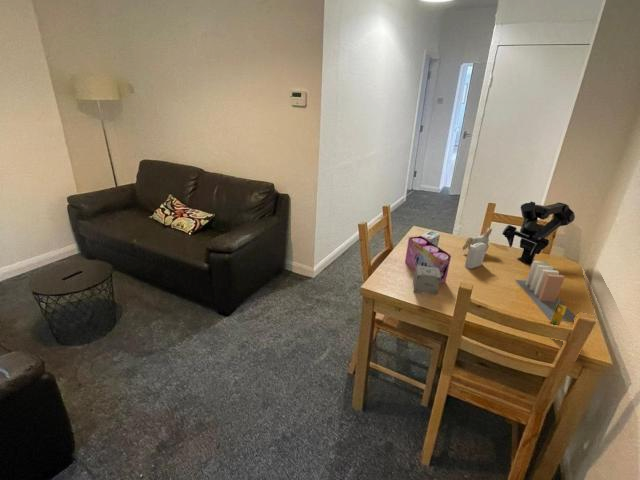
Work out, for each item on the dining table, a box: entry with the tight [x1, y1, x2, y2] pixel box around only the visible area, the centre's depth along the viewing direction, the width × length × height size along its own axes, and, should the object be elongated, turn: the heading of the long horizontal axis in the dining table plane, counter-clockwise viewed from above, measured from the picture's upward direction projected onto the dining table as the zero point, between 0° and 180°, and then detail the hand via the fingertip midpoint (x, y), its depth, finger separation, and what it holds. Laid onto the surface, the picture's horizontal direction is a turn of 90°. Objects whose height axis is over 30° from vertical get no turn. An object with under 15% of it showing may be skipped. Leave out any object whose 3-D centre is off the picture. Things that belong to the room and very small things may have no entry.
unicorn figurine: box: [462, 224, 493, 254], centre depth 181 cm, size 7×20×13 cm, turn 122°
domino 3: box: [534, 269, 560, 296], centre depth 143 cm, size 2×6×12 cm, turn 85°
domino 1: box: [525, 260, 550, 286], centre depth 151 cm, size 2×6×12 cm, turn 85°
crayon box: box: [548, 299, 568, 327], centre depth 122 cm, size 7×3×12 cm, turn 138°
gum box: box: [404, 235, 452, 284], centre depth 158 cm, size 24×8×14 cm, turn 19°
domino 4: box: [538, 274, 565, 302], centre depth 140 cm, size 2×6×12 cm, turn 85°
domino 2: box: [529, 265, 555, 291], centre depth 147 cm, size 2×6×12 cm, turn 85°
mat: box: [515, 279, 576, 323], centre depth 143 cm, size 30×12×1 cm, turn 175°
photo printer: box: [464, 243, 487, 270], centre depth 167 cm, size 10×4×12 cm, turn 123°
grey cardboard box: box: [412, 265, 441, 295], centre depth 144 cm, size 10×8×10 cm
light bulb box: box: [419, 230, 441, 247], centre depth 178 cm, size 11×7×11 cm, turn 134°
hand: (520, 251), depth 156 cm, fingers open, 9 cm apart
